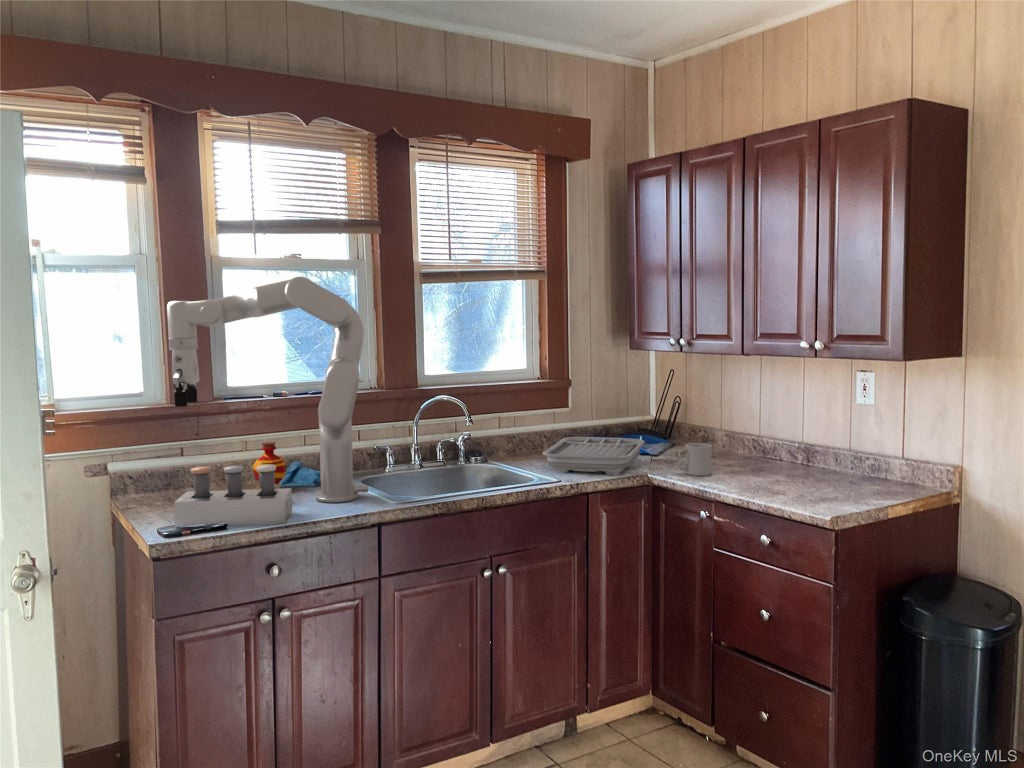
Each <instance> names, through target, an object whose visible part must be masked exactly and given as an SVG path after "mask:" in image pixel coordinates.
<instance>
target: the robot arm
mask: <svg viewBox="0 0 1024 768" xmlns="http://www.w3.org/2000/svg"><path fill="white" fill-rule="evenodd" d="M296 309H300V310H302V311H303V312H305V313H307V314H309V315H311V316H312V317H314V318H316V319H318V320H320V321H322V322H324V323H326V324H327V325H329V326H332V328H333V331H334V337H333V343H332V349H331V354H330V358H329V362H328V366H327V368H326V371H325V379H324V384H323V389H322V393H321V398H320V401H319V404H318V407H317V410H318V411H317V415H318V431H319V432H318V433H319V434H318V437H319V438H318V439H319V440H318V441H319V468H320V492H319V493H317V494H315V500H316V501H317V502H318V501H319V502H320V503H321V502H322V503H331V504H332V503H333V504H334V503H345V502H350V501H354V500H357V499H358V498H359V497H360V496H359V493H361V492H362V493H369V485H366V484H357V483H355V482H356V481H355V480H354V471H353V470H354V469H353V468H354V466H353V462H354V460H353V430H352V429H353V424H352V416H353V413H354V410H355V409H354V408H355V403H356V399H357V393H358V389H359V384H360V378H361V377H360V370H359V368H360V367H359V366H360V362H361V361H360V360H361V357H362V349H363V345H364V335H365V334H364V333H365V332H364V324H363V322H362V321H363V320H362V319H361V317H360V314H359V313H358V311H357V310H356V309H355V308H354V307H353V306H352V305H351V304H350V303H349V301H347V299H345V298H343V297H341V296H339V295H338V294H335V293H334V292H332V291H330V290H328V289H326V288H325V287H323V286H321V285H319V284H318V283H316V282H314V281H312V280H310V278H308V277H304V276H295V277H293V278H290V279H287V280H283V281H282V280H281V281H278V282H273V283H268V284H264V285H258V286H255V287H252V288H250V289H248V290H246V291H243V292H240V293H237V294H233V295H229V296H224V297H220V298H215V299H204V300H203V299H202V300H196V301H191V300H171V301H169V302H168V303H167V305H166V313H167V330H168V331H167V333H168V348H169V351H171V374H172V376H171V377H172V383H173V387H174V388H173V393H174V406H175V407H177V408H178V407H188V403H189V404H190V403H197V402H198V391H197V390H198V386H197V383H199V382H200V372H199V371H200V369H199V361H198V360H199V359H198V354H197V353H198V352H197V350H198V347H199V346H198V330H197V328H198V327H197V326H202V327H214V326H220V325H223V324H227V323H232V322H236V321H240V320H245V319H251V318H262V317H265V316H269V315H274V314H278V313H281V312H282V313H283V312H286V311H292V310H296Z"/></svg>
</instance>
